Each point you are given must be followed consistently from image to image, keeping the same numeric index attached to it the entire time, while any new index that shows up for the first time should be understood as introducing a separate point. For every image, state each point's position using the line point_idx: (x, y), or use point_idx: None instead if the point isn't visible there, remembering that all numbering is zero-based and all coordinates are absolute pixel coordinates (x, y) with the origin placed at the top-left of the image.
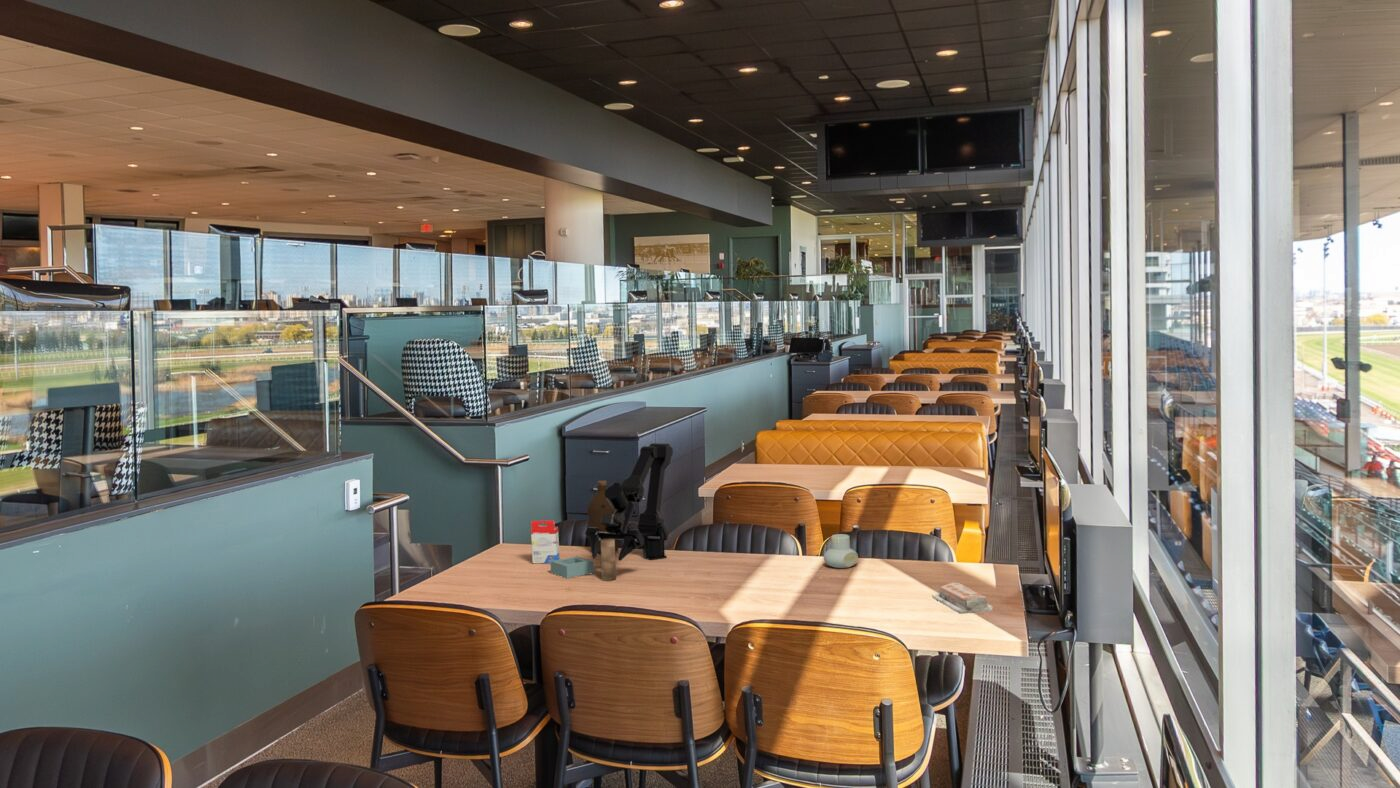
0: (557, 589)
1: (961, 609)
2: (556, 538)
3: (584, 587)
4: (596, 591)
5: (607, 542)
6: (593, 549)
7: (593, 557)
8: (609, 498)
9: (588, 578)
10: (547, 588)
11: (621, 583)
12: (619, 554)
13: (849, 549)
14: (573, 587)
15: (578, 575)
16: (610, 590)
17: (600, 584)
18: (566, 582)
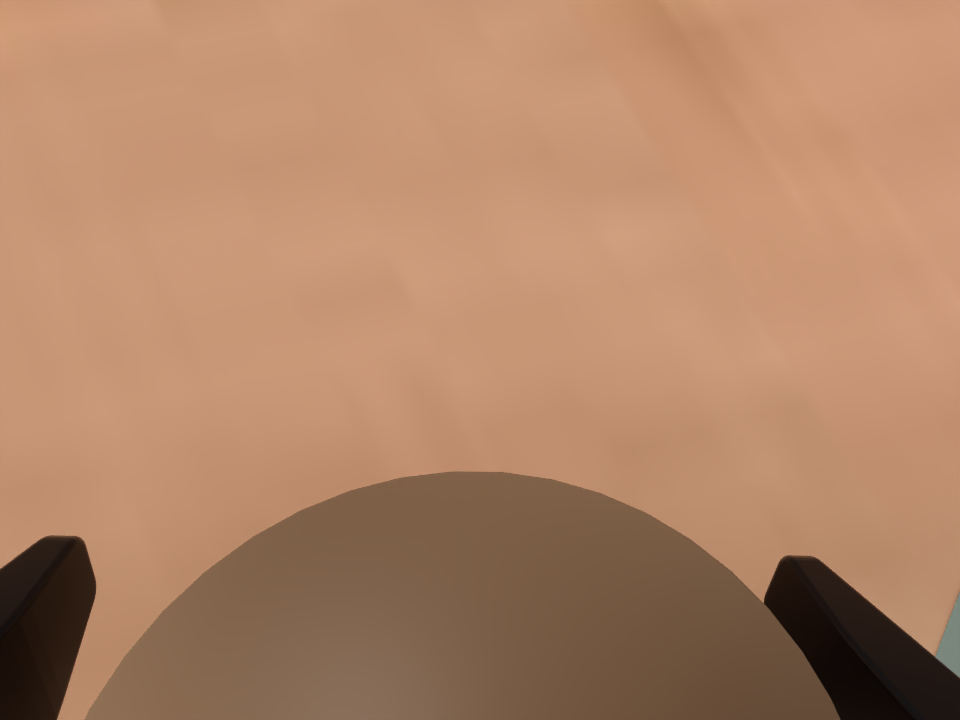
0: (790, 4)
1: None
2: None
3: (542, 143)
4: (310, 10)
5: (312, 513)
6: (957, 715)
7: (779, 565)
8: None
9: None
10: (918, 20)
11: (149, 444)
12: (7, 612)
13: None
14: (669, 116)
15: (944, 658)
16: (157, 81)
17: (417, 322)
18: (887, 312)
